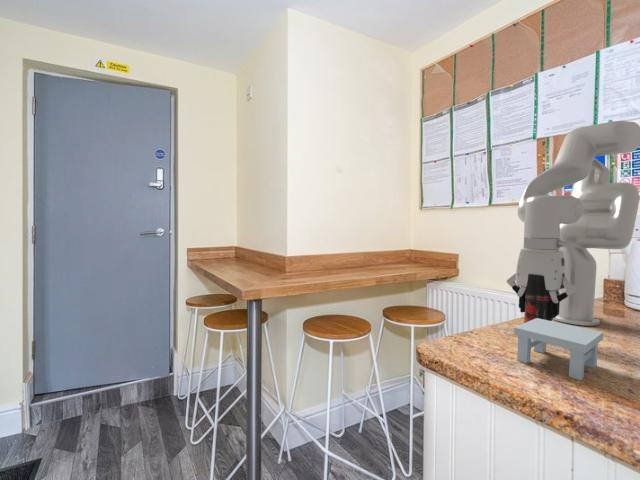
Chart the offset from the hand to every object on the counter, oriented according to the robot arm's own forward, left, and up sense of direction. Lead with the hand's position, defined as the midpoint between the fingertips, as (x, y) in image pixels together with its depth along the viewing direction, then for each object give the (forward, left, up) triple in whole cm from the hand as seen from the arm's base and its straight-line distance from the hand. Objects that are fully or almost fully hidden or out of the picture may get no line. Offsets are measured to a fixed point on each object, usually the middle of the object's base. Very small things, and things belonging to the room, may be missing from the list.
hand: (538, 313), depth 85 cm
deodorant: (0, 0, -5) cm, 5 cm away
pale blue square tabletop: (+16, +9, -6) cm, 19 cm away
